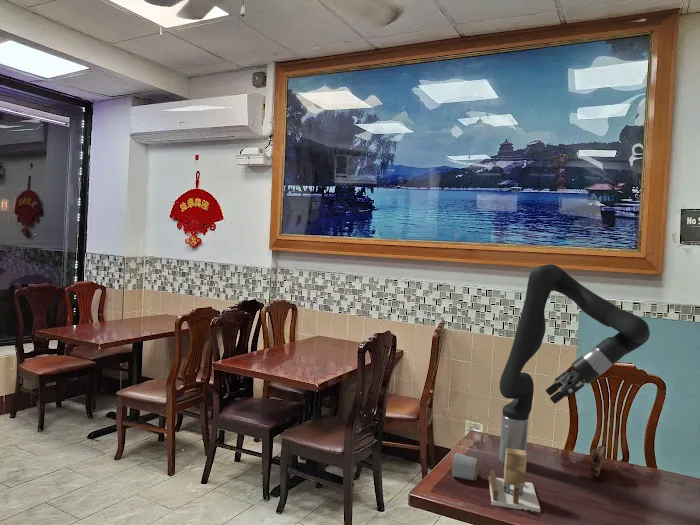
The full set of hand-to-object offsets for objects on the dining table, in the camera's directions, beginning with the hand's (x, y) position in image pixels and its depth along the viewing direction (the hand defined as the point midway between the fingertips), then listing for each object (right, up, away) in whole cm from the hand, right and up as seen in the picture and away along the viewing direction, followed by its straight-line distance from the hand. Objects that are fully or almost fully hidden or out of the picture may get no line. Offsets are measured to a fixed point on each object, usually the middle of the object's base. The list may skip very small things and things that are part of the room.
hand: (549, 397), depth 161 cm
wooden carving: (+25, -34, +22) cm, 47 cm away
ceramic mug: (-24, -31, +14) cm, 42 cm away
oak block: (-11, -28, +2) cm, 30 cm away
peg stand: (-11, -32, +2) cm, 34 cm away
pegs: (-11, -31, +2) cm, 33 cm away
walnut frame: (-14, -31, +3) cm, 34 cm away
